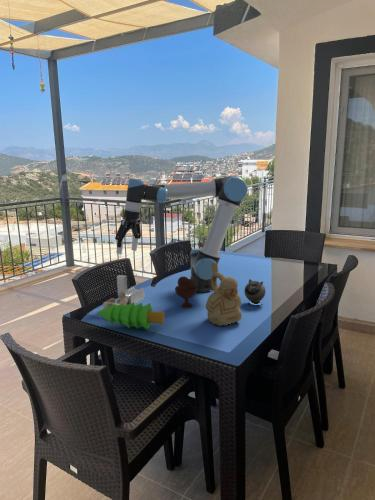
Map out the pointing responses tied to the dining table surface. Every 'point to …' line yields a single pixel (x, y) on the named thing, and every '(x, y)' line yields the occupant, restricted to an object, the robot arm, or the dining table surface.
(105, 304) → the socket
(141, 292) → the channel
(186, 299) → the ice cream bowl
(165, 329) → the dining table surface
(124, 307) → the decorative tree
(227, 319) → the ceramic vessel
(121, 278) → the shiny silver metal piece
